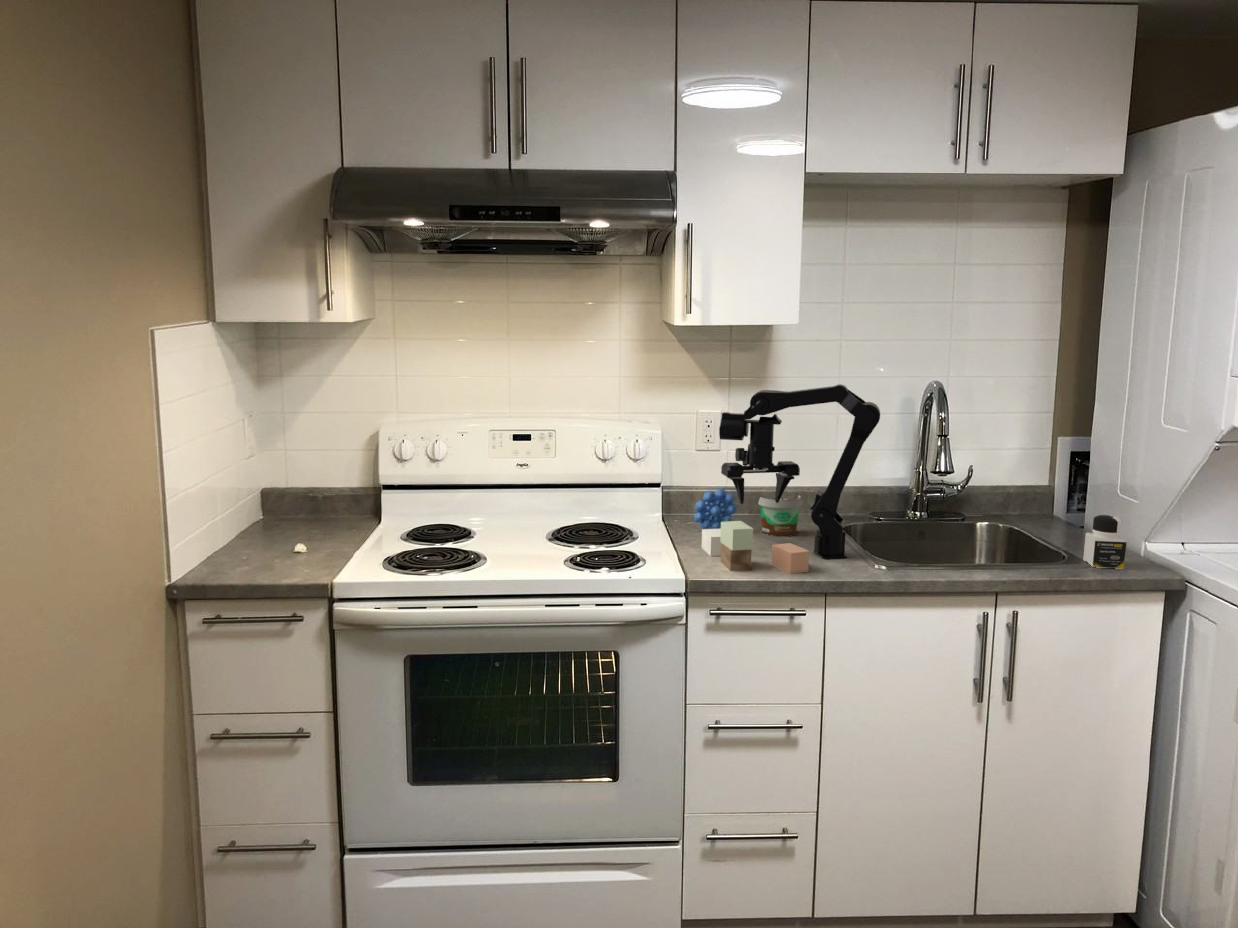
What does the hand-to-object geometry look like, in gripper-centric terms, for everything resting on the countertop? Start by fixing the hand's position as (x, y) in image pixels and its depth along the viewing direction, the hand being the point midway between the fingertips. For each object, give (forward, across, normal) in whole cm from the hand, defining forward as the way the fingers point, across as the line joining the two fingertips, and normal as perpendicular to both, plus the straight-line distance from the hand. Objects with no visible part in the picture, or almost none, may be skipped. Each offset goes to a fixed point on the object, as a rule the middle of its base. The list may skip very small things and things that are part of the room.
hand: (759, 503), depth 246 cm
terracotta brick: (+12, -2, +17) cm, 21 cm away
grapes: (+12, +5, -21) cm, 25 cm away
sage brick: (+7, +10, +13) cm, 18 cm away
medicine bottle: (+12, -78, +27) cm, 84 cm away
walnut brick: (+12, +10, +13) cm, 20 cm away
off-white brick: (+12, +11, 0) cm, 16 cm away
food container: (+12, -12, -14) cm, 22 cm away
